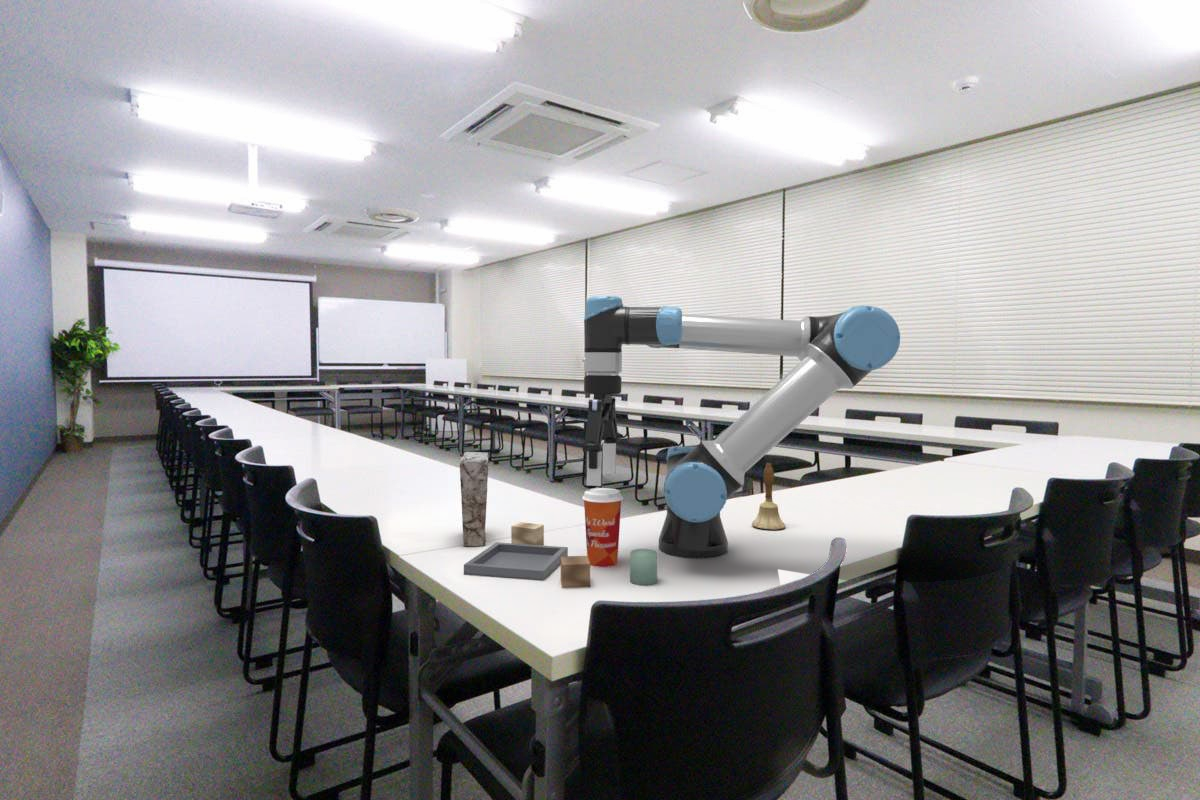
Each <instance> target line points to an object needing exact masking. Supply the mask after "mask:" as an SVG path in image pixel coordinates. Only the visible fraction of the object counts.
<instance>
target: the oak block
mask: <svg viewBox="0 0 1200 800" xmlns="http://www.w3.org/2000/svg"><path fill="white" fill-rule="evenodd" d="M510 534H511V537H510V539H511V540H510V542H511V543H514V544H529V545H543V546H545V525H544V524H539V523H529V522H518V523H516V524H514V525H512V526H511V528H510Z"/></svg>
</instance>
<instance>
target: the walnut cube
mask: <svg viewBox="0 0 1200 800" xmlns="http://www.w3.org/2000/svg"><path fill="white" fill-rule="evenodd" d="M560 582H561V588H562V589H571V588H573V589H574V588H576V589H577V588H591V565H590V562H589V559H588V556H587V555H571V556H570V555H569V556H564V557H561V565H560Z"/></svg>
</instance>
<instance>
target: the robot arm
mask: <svg viewBox="0 0 1200 800" xmlns="http://www.w3.org/2000/svg"><path fill="white" fill-rule="evenodd" d="M584 308H585V310H584V318H583V323H584V329H583V331H584V335H583V336H584V338H583V339H584V357H582V358H581V362H582V363H584V373H587V375H585V376H584V377H583V392H584V393H585V395H593V399H588V402H587V403H588V406H587V407H588V412H587V420H586V428H585V435H584V436H585V437H584V443H583V446H582V448H581V449H582V452H585V453H586V486H593V487H595V486H596V487H601V486H602V475H616V474H617V465H616V464H617V460H616V459H617V457H616V456H617V444H619V443H620V441H621V438H620V437H619V433H618V432H619V431H618V420H617V412H616V411H617V410H616V409H617V408H616V401H617V399H616V397H615V396H612V395H620V394H621V393H622V377H621V375H620V374H621V373H622V372H623V352H622V351H623V349H622V346H623V345H627V346H630V345H631V346H632V345H635V346H637V345H639V346H641V345H642V346H643V345H644V346H648V347H650V348H652V349H661V348H662V349H663V348H664V349H665V348H666V349H684V350H697V351H710V352H711V351H712V352H729V353H742V354H755V355H757V354H758V355H768V356H769V355H770V356H771V355H772V356H785V357H796V358H798V359H799V360H800V362H799V363H797V364H796V365H795V366H794V367H793V368H792V369H791V370H790V371H789V372H788V373H787V374H785V375H784V376H783V377H782V378H781V379H780V380H779V381H778V382H776V384H775V385H773V387H772V388H770V389H769V390H768V391H767V392H765V394H763V396H761V397H760V398H759V399H758V400H757V401H756V402H755V403H754V404H753V405H751V406H750V407H749V409H747V410H746V411H745V412H744V413H743V414H742V415H740V417H739V418H737V419H736V420H735V421H734V422H733V423H732V424H731V425H729V426H728V427H727V428H726V429H725V430H724V431H723V432H722V433H721V434H720V435H718V436H717V437H716V439H714V440H702V441H700V442H699V443H698V444H697V445H696V446H670V447H669V448H668V449H667V453H666V454H667V455H666V458H665V459H666V477H665V480H664V483H663V494H664V495H663V496H664V499H665V501H666V515H665V519H664V522H663V525H662V528H661V531H660V534H659V537H658V551H660V552H661V553H662V554H665V555H668V556H672V557H677V558H682V559H683V558H684V559H695V560H696V559H713V558H719V557H722V556H725V555H727V554H728V551H729V542H728V538H727V535H726V531H725V529H724V525H723V523H722V518H721V511H722V510H723V508H724V507H725V505H726V503H727V500H728V499H730V498H731V497H732V496H733V495H734V494H735V493H736V492H737V491H738V490H740V489H741V488H742V487H743V486H744V485H745V474H746V472H748V471H749V470H750V469H751V468H752V467H754V466H755V464H756V463H757V462H759V461H760V460H762V458H763V457H764V456H765V455H767V454H768V453H769V452H771V451H772V449H774V447H775V446H777V445H778V444H779V443H780V442H781V441H783V440H784V439H785V438H786V437H787V436H788V435H789V434H790V433H791V432H792V431H794V429H796V428H797V427H798V426H799V425H801V423H802V422H804V421H805V420H806V419H807V418H808V417H809V416H810V415H812V414H813V413H814V412H815V411H816V410H817V409H818V408H820V406H821V405H823V404H824V403H825V402H826V401H827V400H829V398H830V397H832V396H833V395H834V394H835V393H836V392H837V391H838V390H840V389H844V390H845V389H848V390H849V389H853V388H854V387H855V386H856V385H858V384H859V383H860V382H861V381H862V380H863V379H865V377H867V375H869V374H870V373H871V372H872V371H875V370H878V369H881V368H883V367H884V366H886V365H887V364H889V363H890V362H891V361H892V360H893V358H894V357H895V356H896V354H897V353H898V350H899V347H900V344H901V332H900V331H901V330H900V328H899V326H898V324H897V322H896V320H895V319H894V317H893V316H892V315H891V314H890V313H888V312H887V310H884V309H882V308H880V307H876V306H870V305H858V306H857V305H856V306H853V307H851V308H849V309H848V310H845V311H842V312H839V313H837V314H832V315H824V316H804V317H803V318H802V319H801V320H795V319H794V320H791V319H774V318H773V319H772V318H758V317H757V318H756V317H739V316H722V315H721V316H720V315H707V314H705V315H704V314H702V315H701V314H687V313H686V314H684V313H683V311H682V308H680V307H677V306H667V305H662V306H625V305H624V304H623V299H622V298H621V297H620V296H613V295H594V296H590V297H589V298H587V299H586V300H585V305H584ZM602 441H603V443H602ZM601 447H602V451H601Z"/></svg>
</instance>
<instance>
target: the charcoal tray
mask: <svg viewBox="0 0 1200 800" xmlns="http://www.w3.org/2000/svg"><path fill="white" fill-rule="evenodd" d="M568 549H569V548H568V546H557V545H544V546H543V545H529V544H514V543H510V542H497V541H495V542H494V543H493V544H491V545H490V546H489V547H487V548H485V550H483V551H481V552H480V553H479V554H476V556H474V557H473V558H471V559H470V560H469V561H467V562H465V563H464V564H463V575H464V576H477V577H489V578H490V577H491V578H503V579H517V580H531V581H542V582H543V581H545V580H546V579H547V578H549V576H550V575H551V574H552V573H554V572H555V571H556V569H558V567H559V566H561V565H560V564H561V557H564V556H568V555H569V554H568V553H569V552H568V551H569V550H568Z"/></svg>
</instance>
